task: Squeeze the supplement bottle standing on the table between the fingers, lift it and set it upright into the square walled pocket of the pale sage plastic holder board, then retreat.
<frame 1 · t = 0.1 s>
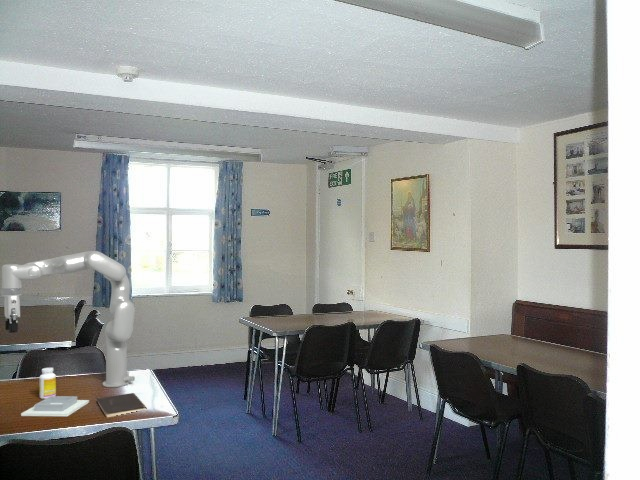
hand: (11, 331, 225), 31 cm above the table, tool pointing down, fingers open, 9 cm apart
holder board: (56, 408, 215), on the table
supplement bottle: (47, 397, 232), on the table
hardcover book: (121, 408, 218), on the table
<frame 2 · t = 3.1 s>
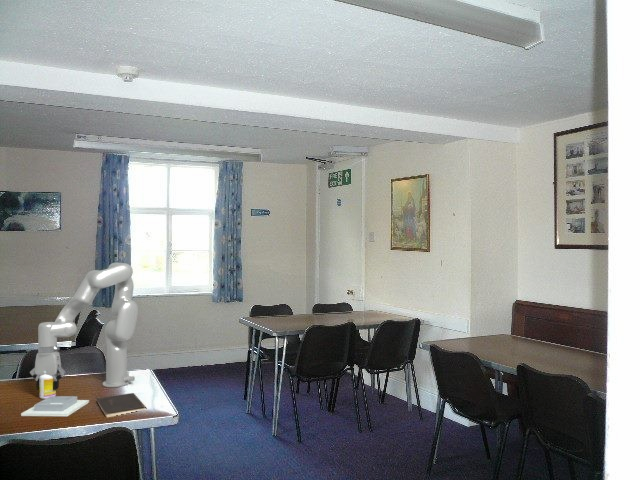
hand: (47, 388, 232), 4 cm above the table, tool pointing down, fingers closed on supplement bottle, 6 cm apart
supplement bottle: (47, 397, 232), on the table, touching gripper
everything else where it was.
when the fingers open (6 cm above the table, at t = 10.6 s): supplement bottle drops 1 cm, resting on holder board.
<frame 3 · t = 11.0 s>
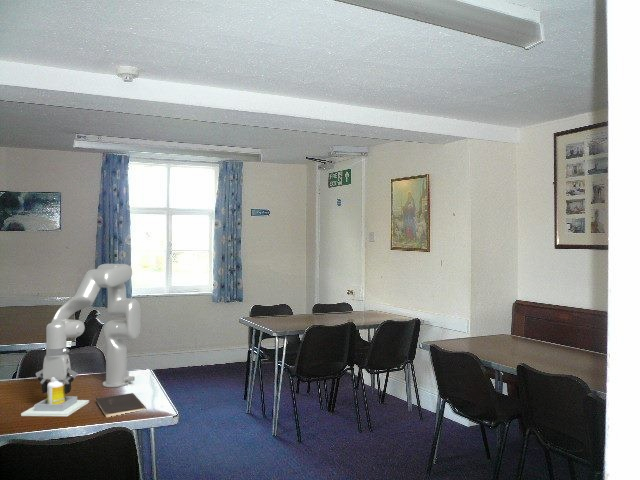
hand: (56, 392, 215), 7 cm above the table, tool pointing down, fingers open, 9 cm apart
supplement bottle: (56, 406, 215), point 1 cm above the table, touching holder board
everything else where it was.
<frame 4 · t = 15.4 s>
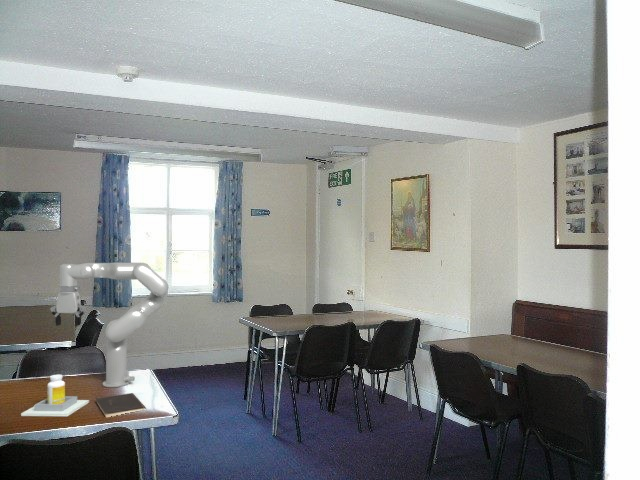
hand: (68, 325, 246), 30 cm above the table, tool pointing down, fingers open, 9 cm apart
nothing on the table moved.
at the end: supplement bottle 0.2 cm off-centre on the holder board, point 0.8 cm above the holder board's base; supplement bottle tilted 0°; the gripper is holding nothing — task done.
